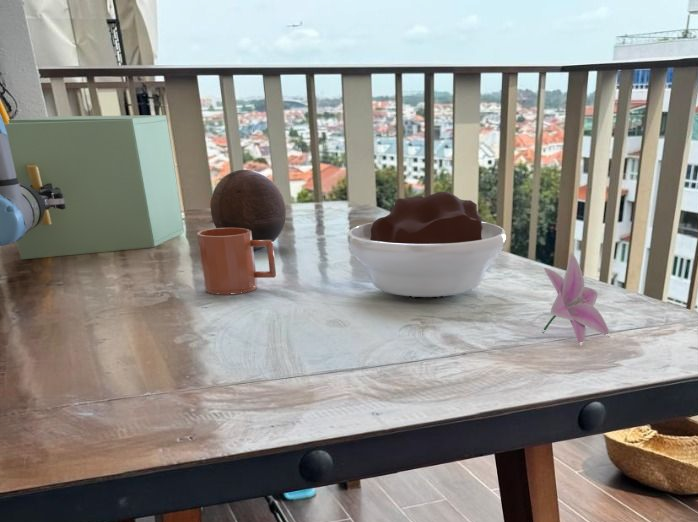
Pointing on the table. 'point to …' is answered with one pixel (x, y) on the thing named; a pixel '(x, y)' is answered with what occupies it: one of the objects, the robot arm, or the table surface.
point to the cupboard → (147, 169)
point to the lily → (575, 301)
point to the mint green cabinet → (82, 186)
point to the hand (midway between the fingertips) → (44, 191)
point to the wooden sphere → (249, 205)
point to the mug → (231, 260)
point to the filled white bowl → (427, 246)
